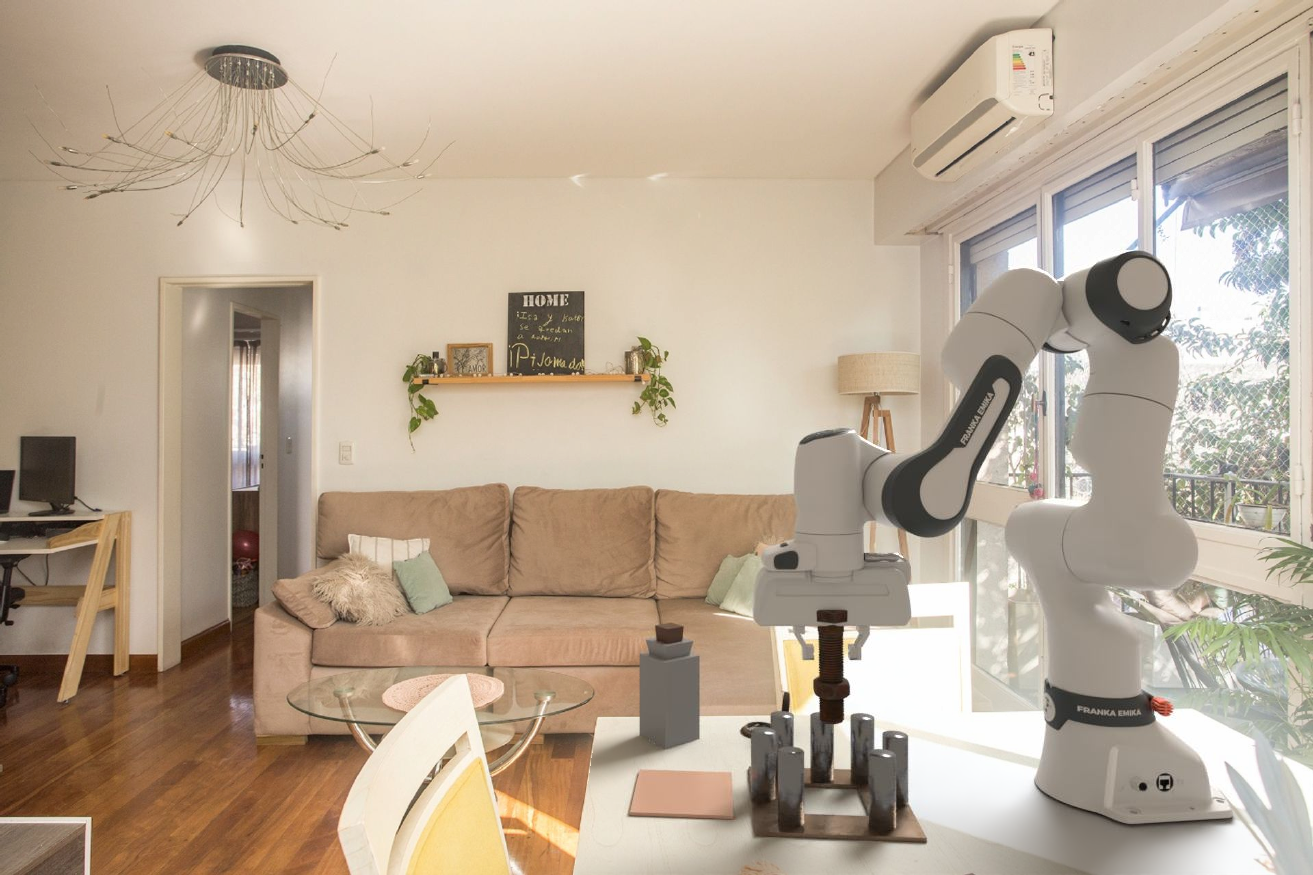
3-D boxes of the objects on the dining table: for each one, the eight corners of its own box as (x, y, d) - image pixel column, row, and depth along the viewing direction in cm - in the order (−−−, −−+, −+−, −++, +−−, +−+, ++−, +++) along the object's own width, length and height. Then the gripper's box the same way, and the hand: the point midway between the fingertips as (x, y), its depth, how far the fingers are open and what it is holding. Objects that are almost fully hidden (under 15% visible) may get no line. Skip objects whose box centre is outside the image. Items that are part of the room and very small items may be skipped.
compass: (741, 727, 130) (741, 683, 130) (789, 730, 129) (789, 685, 129) (738, 746, 122) (738, 699, 122) (790, 749, 121) (790, 701, 121)
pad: (731, 774, 111) (731, 772, 111) (733, 818, 98) (733, 815, 98) (639, 772, 112) (639, 769, 112) (629, 815, 99) (629, 811, 99)
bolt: (856, 729, 100) (854, 611, 100) (816, 729, 100) (814, 611, 100) (846, 713, 106) (845, 601, 106) (808, 713, 106) (807, 602, 106)
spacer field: (891, 774, 111) (891, 710, 112) (927, 841, 93) (927, 765, 93) (747, 769, 113) (747, 706, 113) (754, 835, 94) (754, 759, 94)
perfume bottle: (639, 738, 125) (639, 624, 125) (673, 729, 129) (673, 619, 129) (665, 751, 120) (665, 632, 120) (699, 741, 124) (699, 626, 124)
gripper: (904, 549, 105) (906, 652, 105) (750, 550, 107) (752, 652, 107) (916, 556, 99) (918, 666, 99) (752, 557, 101) (754, 665, 101)
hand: (831, 659), depth 103 cm, fingers closed on bolt, 5 cm apart
